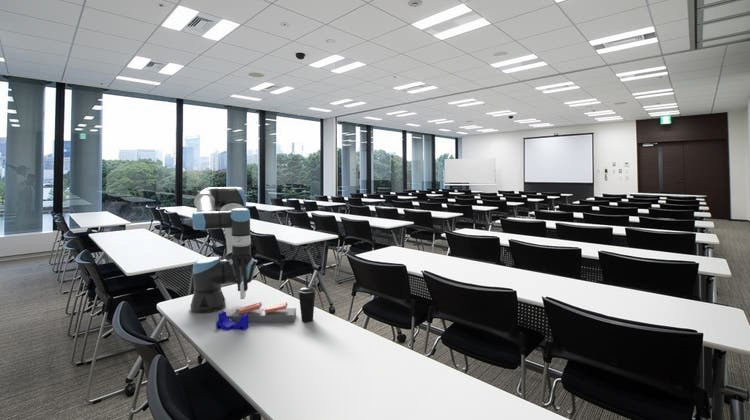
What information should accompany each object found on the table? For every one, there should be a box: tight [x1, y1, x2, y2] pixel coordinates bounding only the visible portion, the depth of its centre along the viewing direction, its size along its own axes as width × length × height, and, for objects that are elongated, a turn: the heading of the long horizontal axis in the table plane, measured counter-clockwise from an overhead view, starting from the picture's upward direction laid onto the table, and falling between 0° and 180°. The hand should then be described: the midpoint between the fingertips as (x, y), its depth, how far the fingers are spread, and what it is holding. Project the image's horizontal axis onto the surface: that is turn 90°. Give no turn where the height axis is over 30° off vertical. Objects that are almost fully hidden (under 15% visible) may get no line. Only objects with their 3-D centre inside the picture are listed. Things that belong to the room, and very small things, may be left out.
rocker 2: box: [264, 301, 288, 313], centre depth 157 cm, size 9×4×2 cm, turn 93°
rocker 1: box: [238, 301, 263, 314], centre depth 156 cm, size 9×4×2 cm, turn 92°
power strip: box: [227, 307, 297, 324], centre depth 157 cm, size 31×8×3 cm, turn 94°
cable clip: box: [215, 310, 249, 331], centre depth 148 cm, size 12×4×6 cm, turn 76°
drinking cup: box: [297, 275, 317, 323], centre depth 156 cm, size 8×8×20 cm
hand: (243, 297), depth 156 cm, fingers closed
